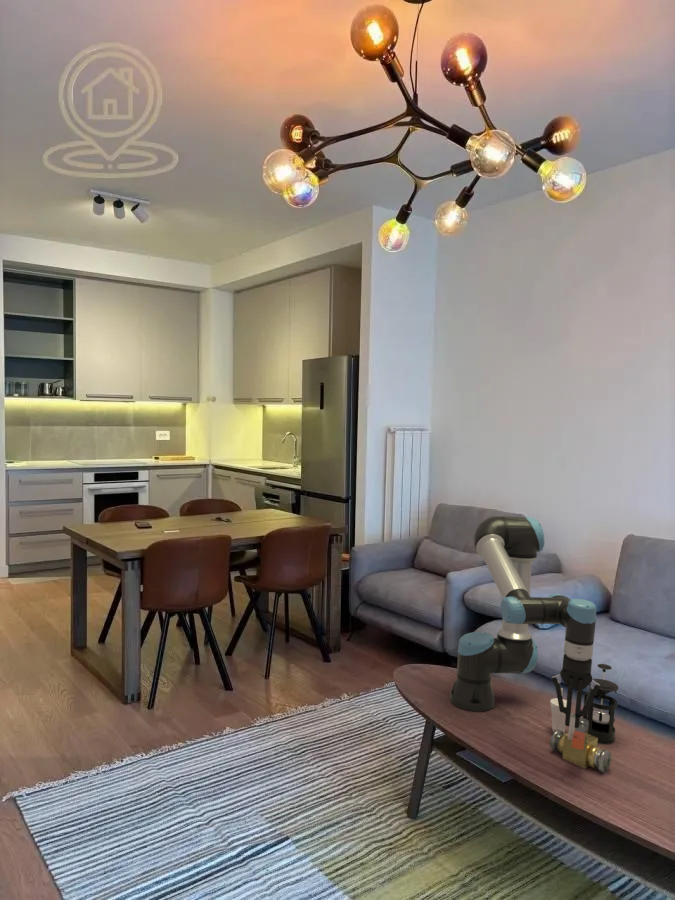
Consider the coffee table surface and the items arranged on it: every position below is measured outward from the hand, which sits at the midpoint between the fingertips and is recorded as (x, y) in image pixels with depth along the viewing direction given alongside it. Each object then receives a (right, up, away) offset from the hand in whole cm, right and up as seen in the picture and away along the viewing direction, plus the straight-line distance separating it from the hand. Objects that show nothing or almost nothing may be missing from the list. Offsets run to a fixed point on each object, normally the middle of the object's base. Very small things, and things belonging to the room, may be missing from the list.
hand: (570, 737), depth 190 cm
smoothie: (+5, -9, +24) cm, 26 cm away
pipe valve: (+5, -10, +7) cm, 13 cm away
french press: (+16, -9, +23) cm, 30 cm away
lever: (+3, -1, +2) cm, 4 cm away
